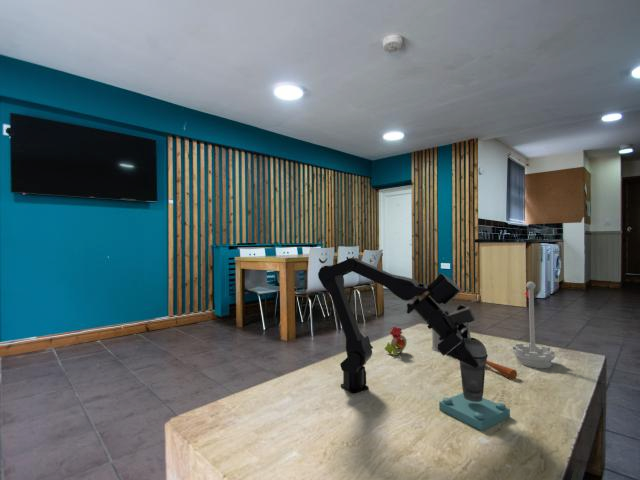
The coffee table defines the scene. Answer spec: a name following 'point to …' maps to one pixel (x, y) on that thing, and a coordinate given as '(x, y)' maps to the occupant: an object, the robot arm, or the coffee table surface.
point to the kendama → (503, 370)
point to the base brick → (475, 411)
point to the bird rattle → (396, 342)
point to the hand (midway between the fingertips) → (478, 361)
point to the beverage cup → (474, 370)
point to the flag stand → (533, 341)
